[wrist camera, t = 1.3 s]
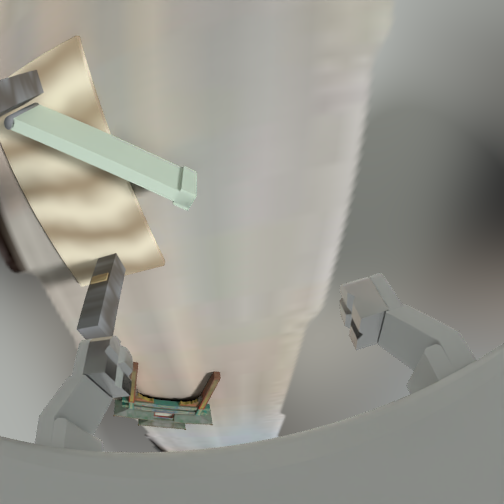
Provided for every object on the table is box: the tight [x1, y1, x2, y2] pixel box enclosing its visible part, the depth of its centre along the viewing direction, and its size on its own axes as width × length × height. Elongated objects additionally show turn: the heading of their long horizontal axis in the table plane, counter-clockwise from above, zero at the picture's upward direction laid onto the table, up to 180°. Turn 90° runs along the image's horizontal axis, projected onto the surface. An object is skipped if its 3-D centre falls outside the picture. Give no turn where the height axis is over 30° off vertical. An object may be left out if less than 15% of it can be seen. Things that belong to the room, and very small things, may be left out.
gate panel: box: [4, 102, 197, 211], centre depth 25 cm, size 21×2×6 cm, turn 56°
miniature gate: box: [114, 362, 220, 430], centre depth 64 cm, size 27×6×30 cm
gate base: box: [0, 36, 165, 339], centre depth 25 cm, size 31×14×13 cm, turn 11°
